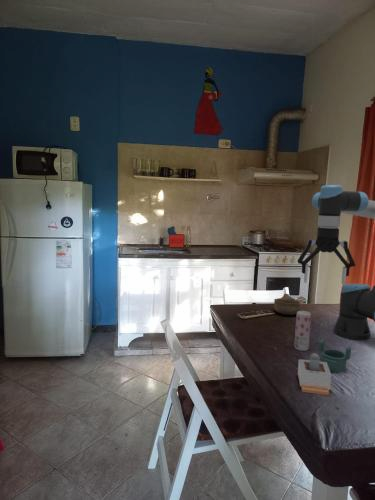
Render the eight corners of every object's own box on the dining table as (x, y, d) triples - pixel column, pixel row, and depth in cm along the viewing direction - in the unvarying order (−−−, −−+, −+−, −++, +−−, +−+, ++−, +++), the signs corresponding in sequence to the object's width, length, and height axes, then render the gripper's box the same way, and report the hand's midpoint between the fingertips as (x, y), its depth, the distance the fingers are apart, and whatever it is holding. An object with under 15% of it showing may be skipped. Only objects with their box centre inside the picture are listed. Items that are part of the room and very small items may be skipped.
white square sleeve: (330, 390, 110) (331, 375, 110) (300, 386, 112) (301, 371, 112) (325, 376, 119) (326, 362, 118) (297, 372, 121) (298, 359, 120)
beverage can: (310, 347, 145) (312, 312, 143) (307, 352, 140) (309, 315, 138) (296, 344, 148) (298, 309, 146) (292, 349, 143) (294, 313, 141)
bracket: (315, 361, 132) (317, 339, 131) (339, 361, 133) (341, 339, 131) (326, 373, 123) (328, 349, 122) (352, 373, 124) (354, 349, 122)
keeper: (323, 376, 121) (325, 347, 119) (328, 395, 109) (331, 363, 108) (298, 373, 122) (300, 345, 121) (301, 391, 111) (304, 360, 109)
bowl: (266, 304, 199) (272, 288, 198) (290, 312, 199) (296, 295, 198) (273, 314, 181) (280, 296, 180) (299, 322, 182) (306, 304, 180)
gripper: (362, 227, 132) (357, 283, 135) (292, 225, 137) (289, 278, 140) (367, 229, 125) (362, 287, 128) (294, 226, 130) (290, 283, 133)
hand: (324, 283), depth 134 cm, fingers open, 13 cm apart
